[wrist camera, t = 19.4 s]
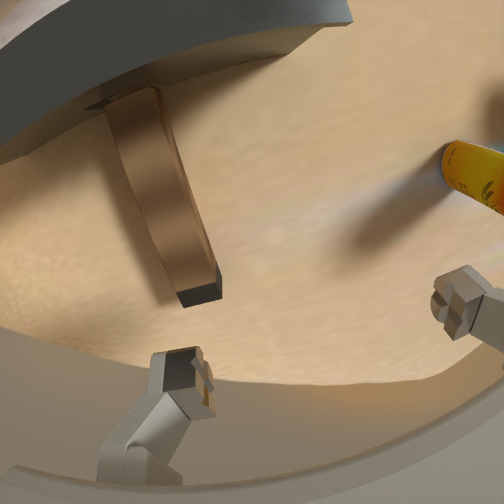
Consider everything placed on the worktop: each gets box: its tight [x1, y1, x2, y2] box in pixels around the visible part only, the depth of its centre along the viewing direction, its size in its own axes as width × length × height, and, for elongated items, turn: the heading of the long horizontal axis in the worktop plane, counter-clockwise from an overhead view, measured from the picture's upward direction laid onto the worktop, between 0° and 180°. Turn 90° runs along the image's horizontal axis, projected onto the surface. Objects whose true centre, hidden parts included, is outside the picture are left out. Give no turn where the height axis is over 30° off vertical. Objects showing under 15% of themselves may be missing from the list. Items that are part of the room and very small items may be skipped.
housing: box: [0, 0, 353, 165], centre depth 16 cm, size 6×29×13 cm, turn 105°
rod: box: [104, 86, 222, 308], centre depth 25 cm, size 20×4×4 cm, turn 15°
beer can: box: [441, 140, 504, 216], centre depth 21 cm, size 6×6×15 cm
